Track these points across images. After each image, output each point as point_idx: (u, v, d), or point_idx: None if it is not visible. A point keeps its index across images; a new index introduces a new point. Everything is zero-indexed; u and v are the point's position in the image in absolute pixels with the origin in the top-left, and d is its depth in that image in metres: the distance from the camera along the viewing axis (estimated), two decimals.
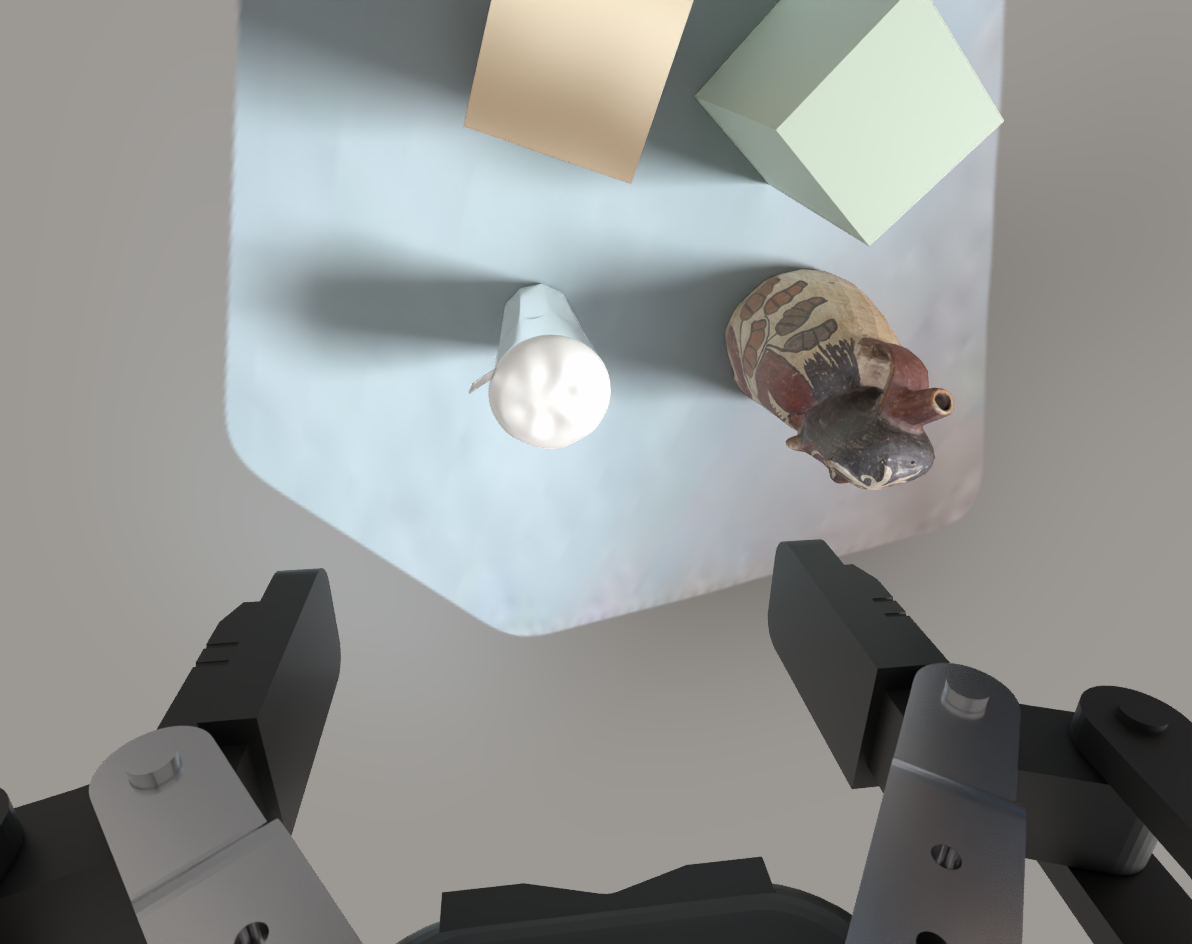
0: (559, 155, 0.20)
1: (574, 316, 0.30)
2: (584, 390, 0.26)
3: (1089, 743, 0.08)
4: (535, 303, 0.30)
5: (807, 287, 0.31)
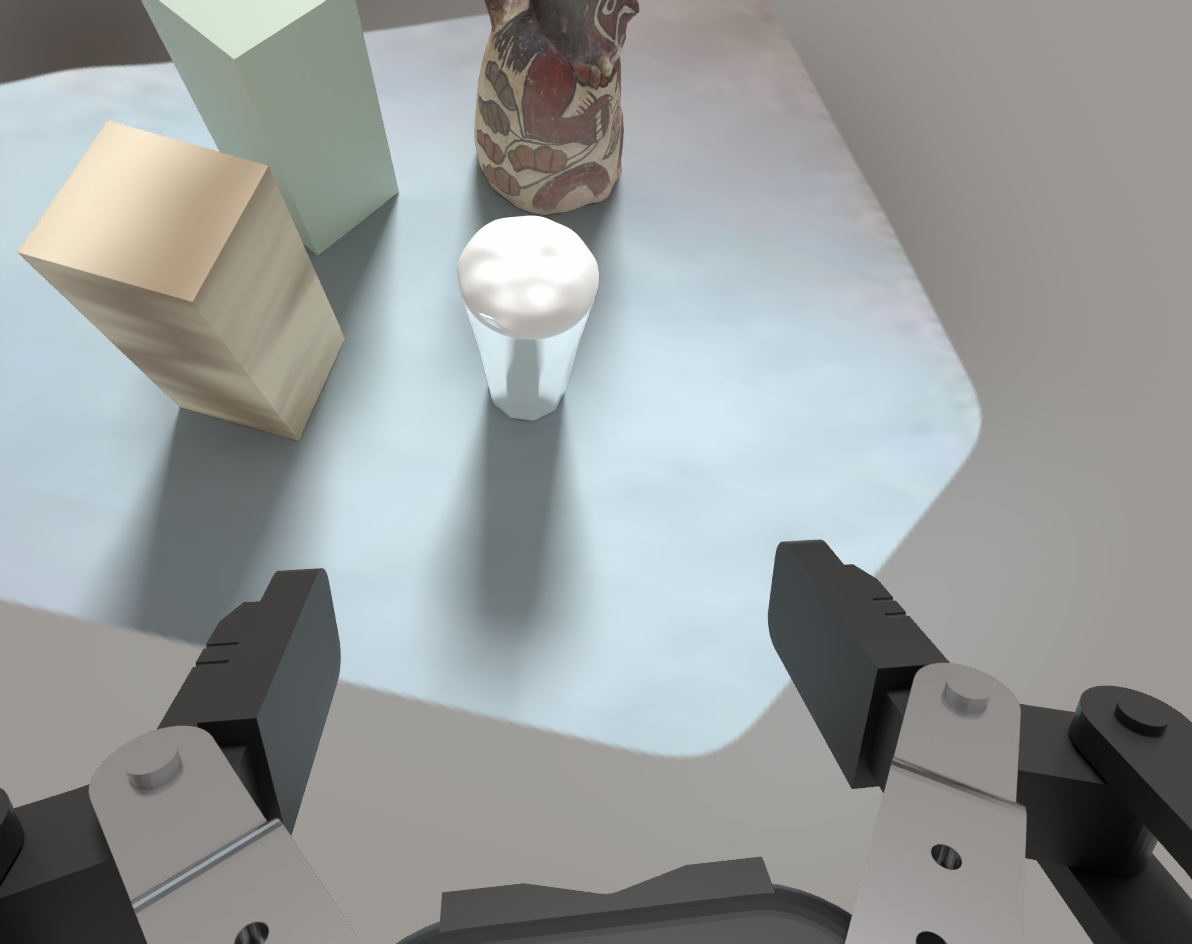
0: (233, 223, 0.21)
1: None
2: (510, 225, 0.23)
3: (1089, 743, 0.08)
4: None
5: (478, 127, 0.32)
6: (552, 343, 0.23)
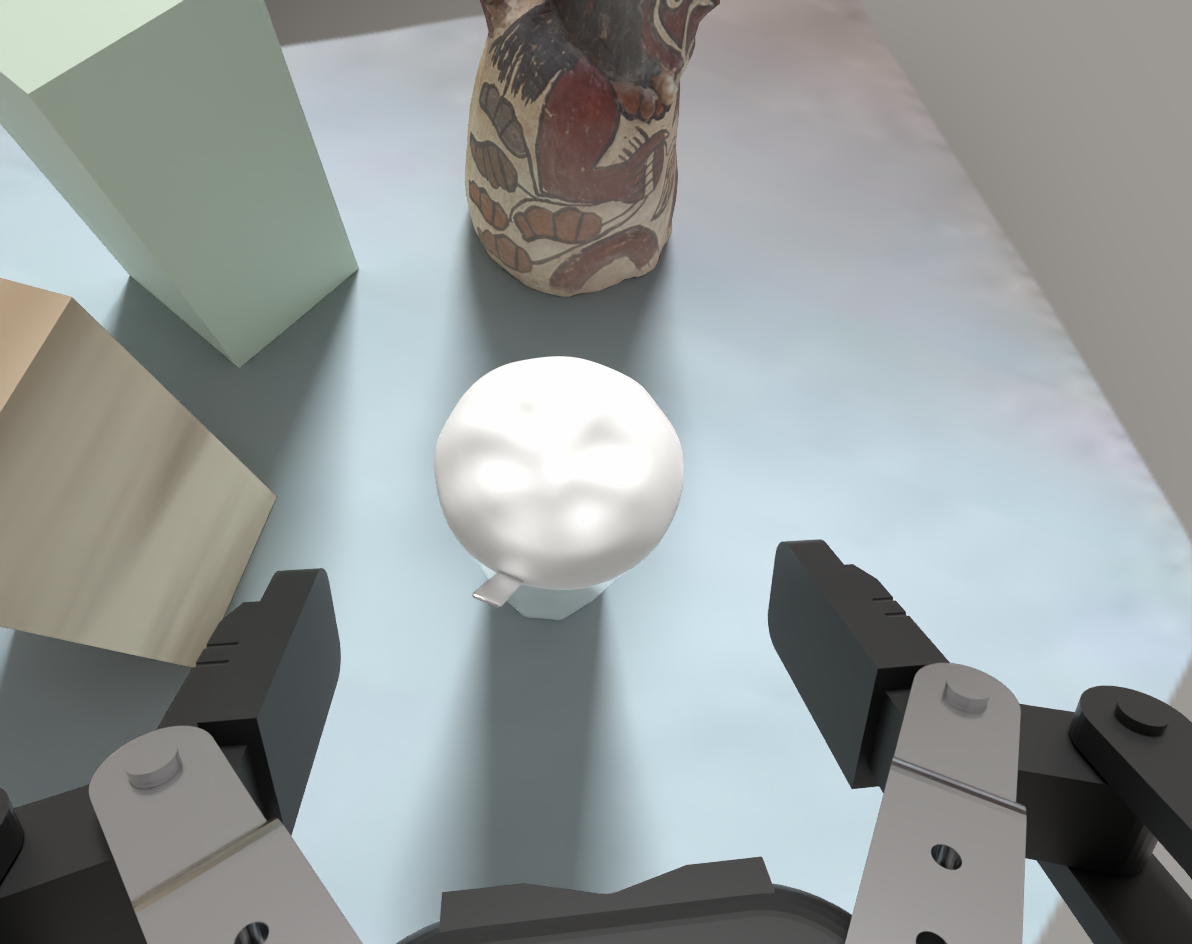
0: None
1: None
2: (527, 384, 0.13)
3: (1089, 743, 0.08)
4: None
5: (470, 176, 0.22)
6: (604, 583, 0.13)
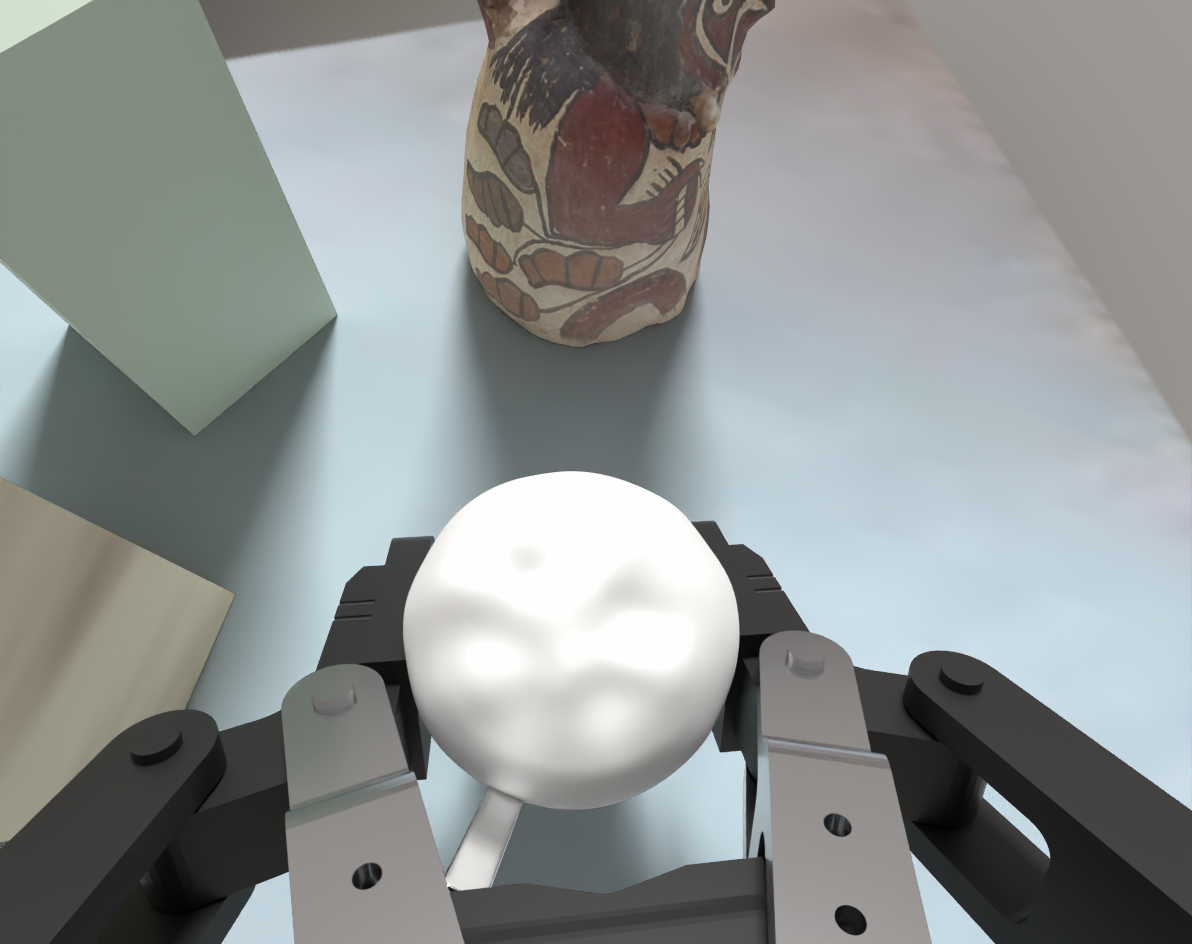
0: None
1: None
2: (527, 525, 0.09)
3: (926, 713, 0.09)
4: None
5: (467, 210, 0.19)
6: None
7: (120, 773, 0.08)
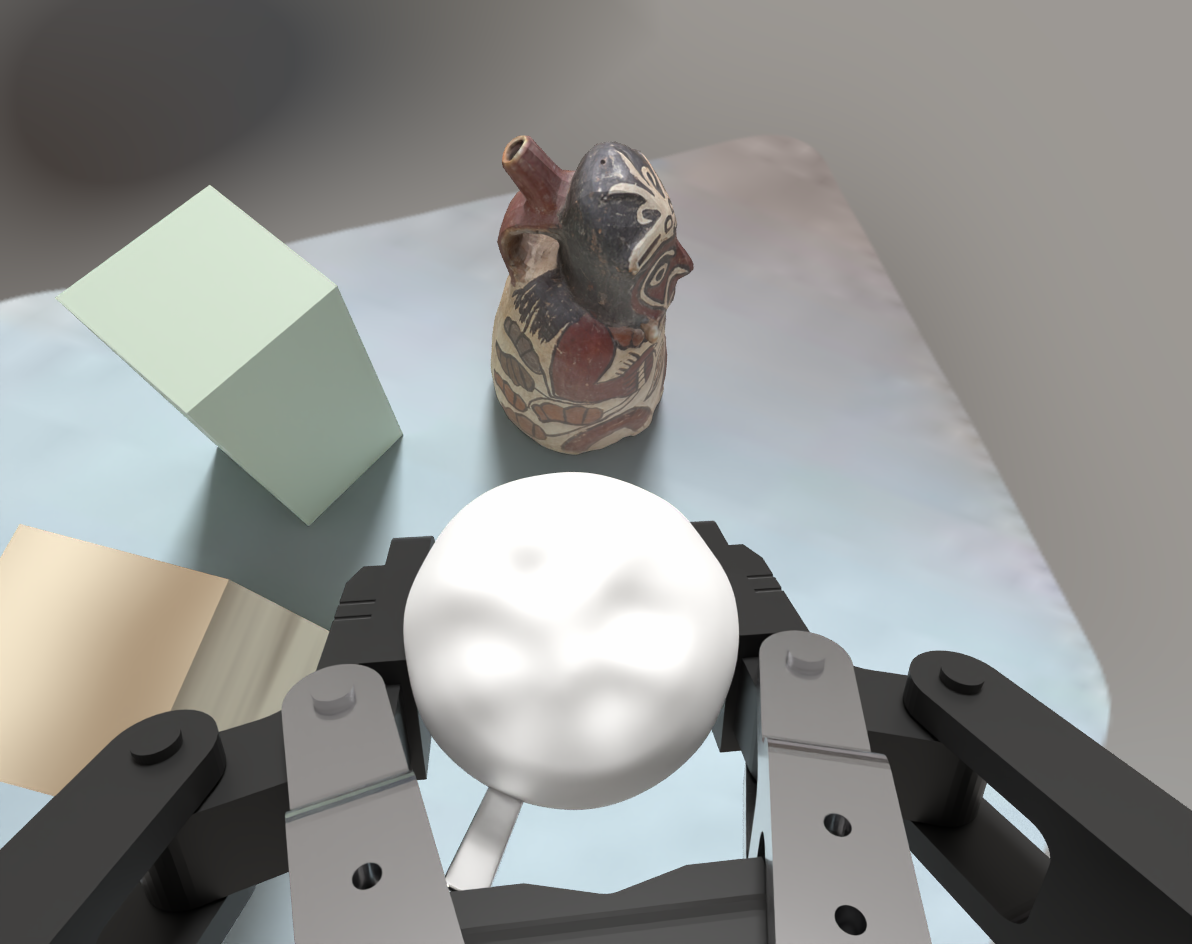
0: (181, 677, 0.15)
1: None
2: (528, 525, 0.09)
3: (926, 713, 0.09)
4: None
5: (495, 367, 0.27)
6: None
7: (120, 773, 0.08)
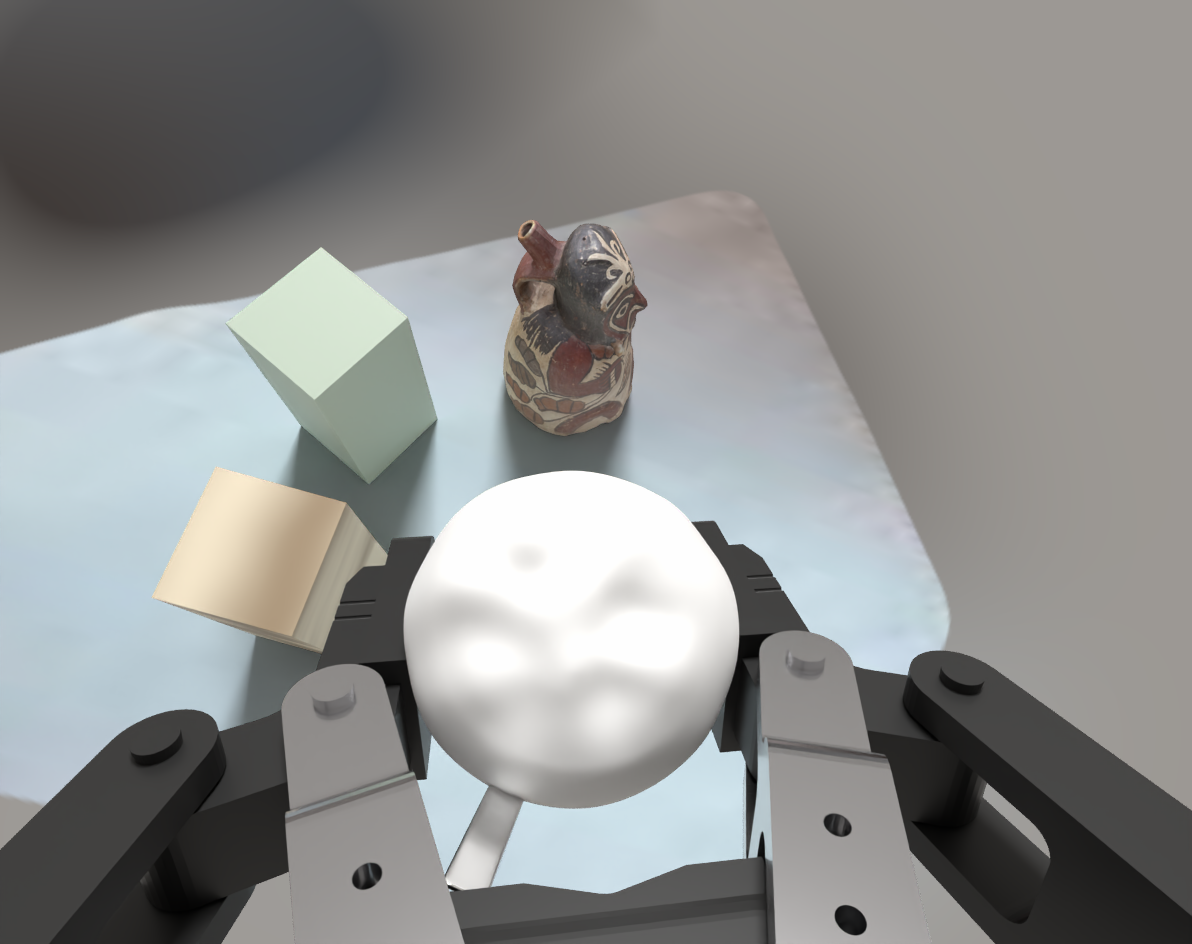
0: (320, 559, 0.25)
1: None
2: (527, 524, 0.09)
3: (926, 713, 0.09)
4: None
5: (507, 370, 0.37)
6: None
7: (120, 773, 0.08)
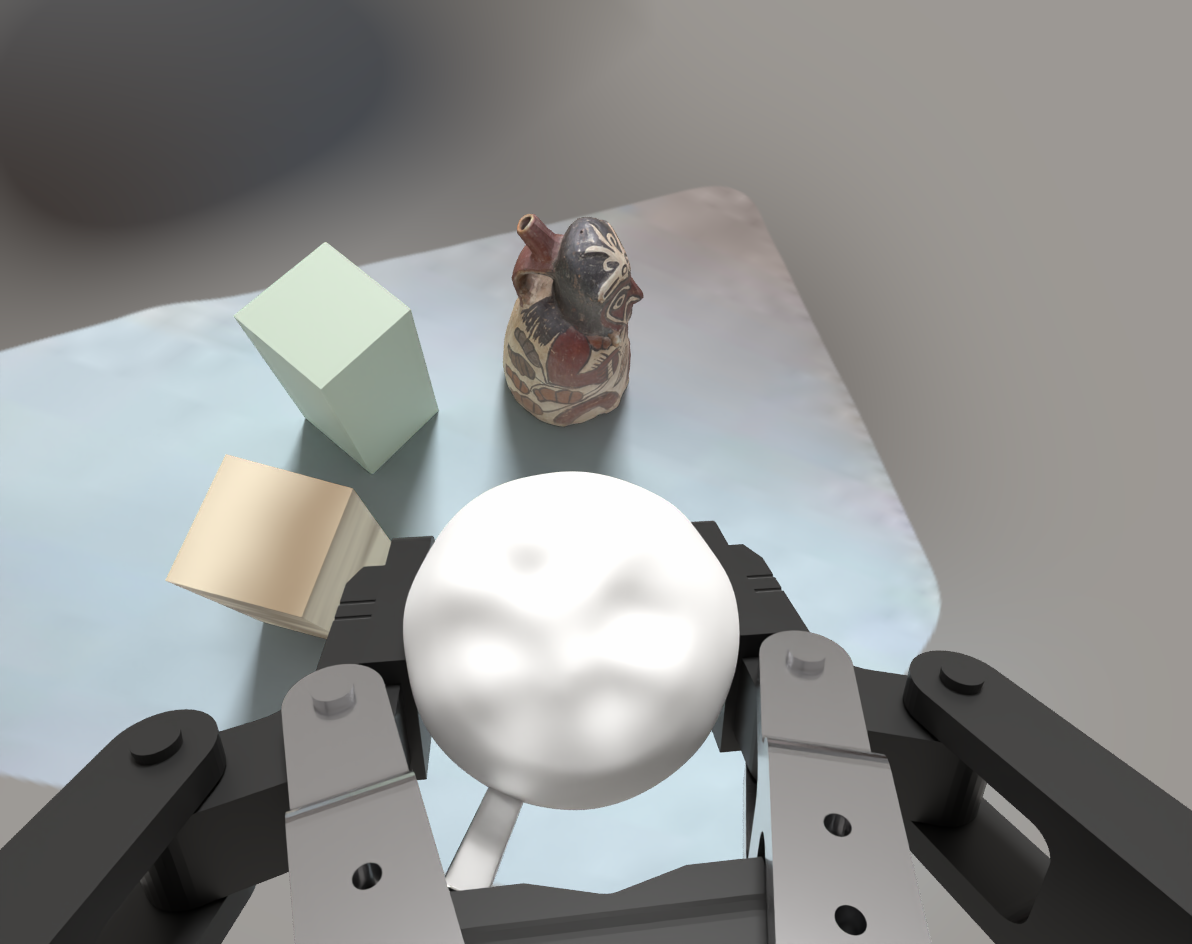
0: (328, 543, 0.26)
1: None
2: (527, 525, 0.09)
3: (926, 713, 0.09)
4: None
5: (506, 362, 0.38)
6: None
7: (120, 773, 0.08)
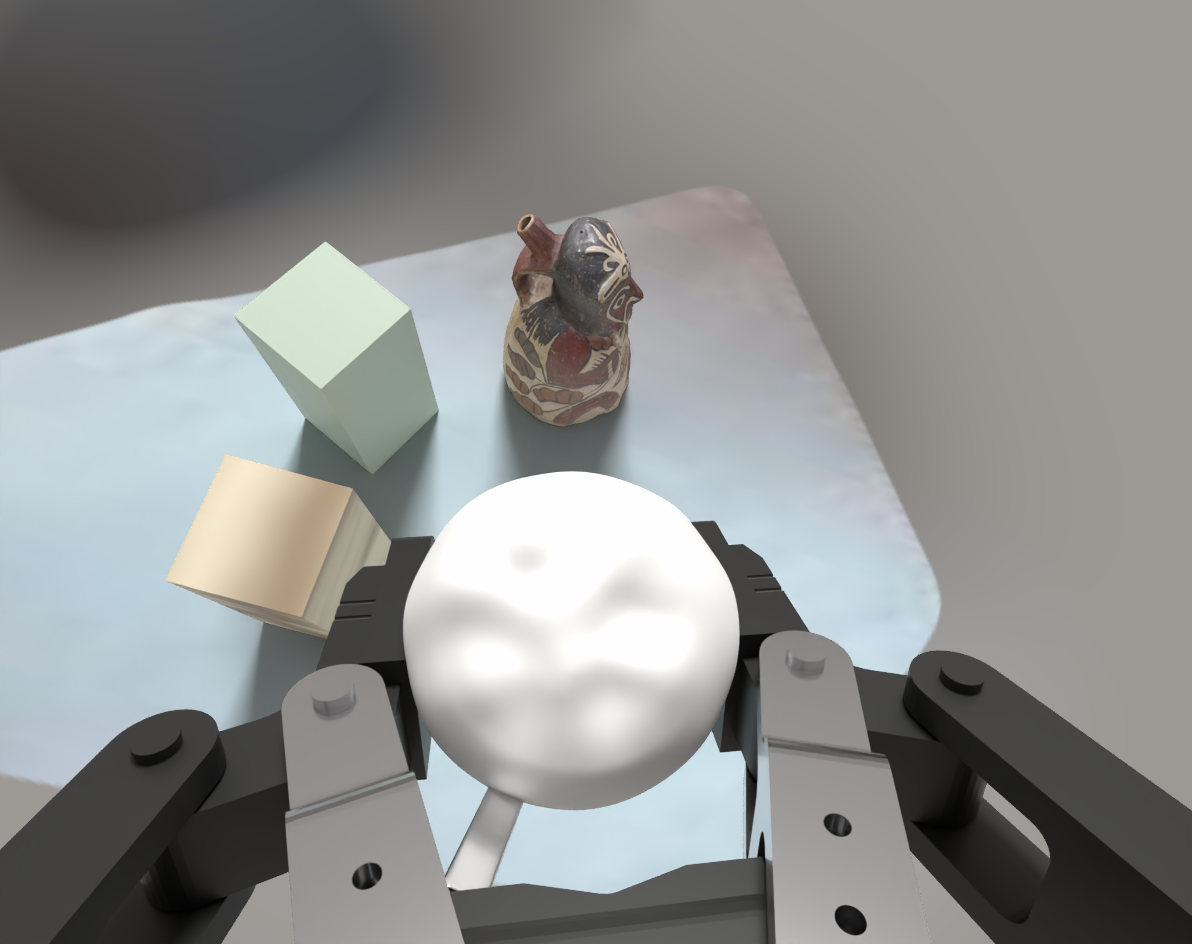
0: (328, 543, 0.26)
1: None
2: (527, 525, 0.09)
3: (926, 713, 0.09)
4: None
5: (506, 362, 0.38)
6: None
7: (120, 773, 0.08)
